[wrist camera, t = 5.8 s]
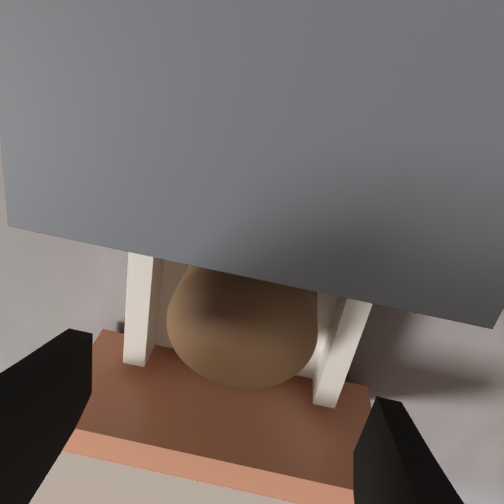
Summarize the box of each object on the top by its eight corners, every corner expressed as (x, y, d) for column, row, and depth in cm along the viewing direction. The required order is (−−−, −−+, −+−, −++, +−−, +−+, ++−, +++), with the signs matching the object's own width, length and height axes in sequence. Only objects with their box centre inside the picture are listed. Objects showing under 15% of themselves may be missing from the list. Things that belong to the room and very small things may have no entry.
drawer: (448, 184, 14) (508, 253, 10) (359, 407, 19) (373, 520, 15) (108, 114, 14) (24, 152, 10) (102, 351, 19) (42, 446, 15)
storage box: (580, -162, 11) (853, -348, 5) (429, 222, 15) (492, 329, 10) (123, -248, 11) (-56, -509, 6) (112, 156, 15) (8, 226, 10)
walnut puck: (331, 244, 15) (335, 283, 12) (299, 352, 17) (298, 402, 15) (193, 215, 15) (173, 249, 13) (179, 326, 17) (160, 372, 15)
